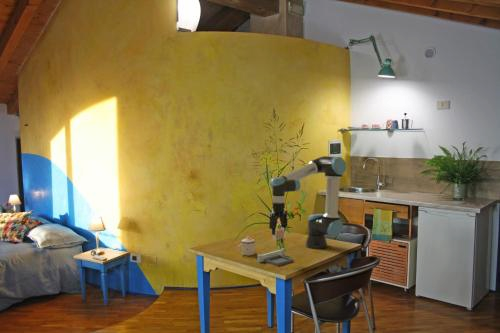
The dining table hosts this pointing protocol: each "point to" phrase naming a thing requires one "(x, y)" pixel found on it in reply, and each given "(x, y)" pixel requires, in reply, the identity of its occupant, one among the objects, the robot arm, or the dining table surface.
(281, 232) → the ball
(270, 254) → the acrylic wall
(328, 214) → the robot arm
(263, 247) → the dining table surface
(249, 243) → the teacup with lid
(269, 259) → the tray
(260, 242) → the dining table surface
